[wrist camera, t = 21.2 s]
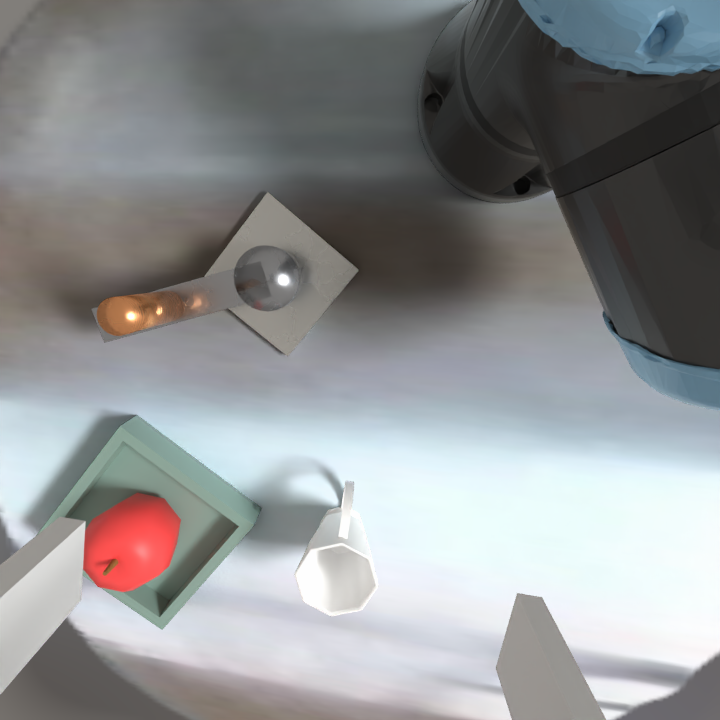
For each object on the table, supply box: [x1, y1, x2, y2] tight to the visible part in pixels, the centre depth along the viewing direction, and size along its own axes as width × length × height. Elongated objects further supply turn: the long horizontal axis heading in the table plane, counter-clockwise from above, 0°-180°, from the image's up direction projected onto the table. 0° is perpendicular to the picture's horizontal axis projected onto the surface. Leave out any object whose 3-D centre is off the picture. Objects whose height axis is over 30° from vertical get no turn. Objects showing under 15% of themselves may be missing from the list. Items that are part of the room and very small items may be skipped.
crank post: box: [204, 192, 359, 356], centre depth 38 cm, size 10×10×3 cm
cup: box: [294, 481, 378, 616], centre depth 41 cm, size 7×10×8 cm
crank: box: [91, 245, 302, 343], centre depth 32 cm, size 16×5×10 cm, turn 105°
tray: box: [36, 415, 262, 630], centre depth 44 cm, size 15×15×3 cm
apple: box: [83, 493, 181, 592], centre depth 40 cm, size 8×8×8 cm
